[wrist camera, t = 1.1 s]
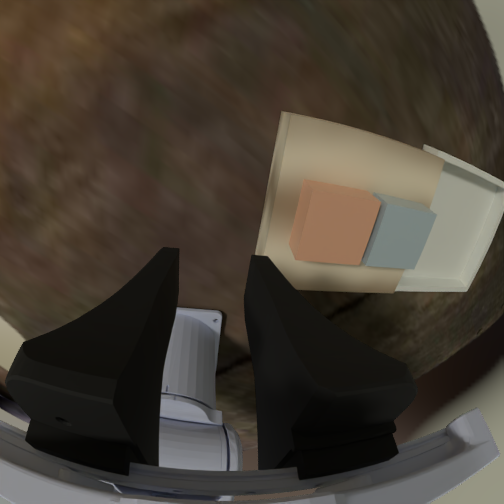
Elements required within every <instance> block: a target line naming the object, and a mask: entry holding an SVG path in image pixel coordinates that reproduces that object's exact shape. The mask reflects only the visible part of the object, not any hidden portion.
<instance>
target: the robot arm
mask: <svg viewBox="0 0 504 504" xmlns="http://www.w3.org/2000/svg"><path fill="white" fill-rule="evenodd" d="M178 294H179V248H168V247H163V248H162V249H160V250H159V252H158V253H157V254H156V255H155V256H154V257H153V258H152V259H151V260H150V261H149V262H148V263H147V264H146V265H145V266H144V267H143V268H142V269H141V270H140V271H139V272H138V273H137V274H136V275H135V276H134V277H133V278H132V279H131V280H130V281H129V282H128V283H127V284H126V285H124V286H123V287H122V288H121V289H120V290H119V291H117V292H116V293H115V294H114V295H113V296H111V297H110V298H109V299H107V300H106V301H104V302H103V303H102V304H100V305H99V306H97V307H95V308H94V309H92V310H91V311H89V312H87V313H86V314H84V315H82V316H81V317H79V318H77V319H76V320H74V321H72V322H70V323H68V324H66V325H64V326H62V327H60V328H58V329H56V330H53V331H51V332H49V333H46V334H44V335H41V336H38V337H36V338H33V339H31V340H28V341H25V342H23V344H22V346H21V347H20V349H19V351H18V353H17V355H16V357H15V359H14V361H13V363H12V365H11V368H10V370H9V372H8V374H7V377H6V380H5V383H6V386H7V389H8V392H9V393H10V394H11V396H12V397H13V399H14V400H15V401H16V402H17V403H18V405H19V406H20V407H21V408H22V409H23V410H24V412H25V413H26V414H27V415H28V416H29V417H30V418H31V421H30V424H29V427H28V431H27V432H25V431H23V430H20V429H18V428H16V427H14V426H11V425H9V424H7V423H5V422H3V421H0V496H1V497H2V498H4V499H5V500H7V501H9V502H11V503H12V504H429V503H431V502H433V501H435V500H436V499H438V498H440V497H441V496H443V495H445V494H446V493H448V492H449V491H451V490H453V489H454V488H455V487H457V486H459V485H460V484H462V483H463V482H464V481H466V480H467V479H469V478H470V477H472V476H473V475H475V474H476V473H477V472H479V471H480V470H482V469H483V468H484V467H486V466H487V465H488V464H490V463H491V462H492V461H494V460H495V459H496V458H497V457H499V456H500V453H499V450H498V448H497V446H496V443H495V441H494V439H493V437H492V435H491V432H490V430H489V428H488V426H487V424H486V422H485V420H484V418H483V416H482V414H481V412H480V410H479V408H475V409H473V410H471V411H468V412H466V413H464V414H462V415H460V416H459V417H457V418H456V419H454V420H453V421H452V422H451V423H449V424H448V425H447V426H446V428H444V429H441V430H439V431H437V432H434V433H432V434H429V435H427V436H424V437H421V438H418V439H415V440H412V441H410V442H407V443H404V444H400V445H398V446H397V445H396V443H395V440H394V437H393V434H392V433H394V432H395V431H396V426H395V424H394V420H395V419H396V418H397V417H398V416H399V415H400V414H401V413H402V412H403V411H404V410H405V409H406V408H407V407H408V406H409V405H410V404H411V403H412V401H413V400H414V398H415V396H416V394H417V385H416V383H415V381H414V379H413V377H412V375H411V373H410V371H409V369H408V367H407V365H406V364H405V363H403V362H400V361H398V360H396V359H394V358H391V357H389V356H387V355H385V354H383V353H380V352H378V351H376V350H375V349H373V348H371V347H369V346H367V345H366V344H364V343H362V342H360V341H359V340H357V339H355V338H354V337H352V336H351V335H349V334H348V333H346V332H345V331H343V330H342V329H340V328H339V327H337V326H336V325H335V324H333V323H332V322H331V321H330V320H328V319H327V318H326V317H325V316H323V315H322V314H321V313H320V312H319V311H317V310H316V309H315V308H314V307H313V306H312V305H311V304H310V303H309V302H308V301H307V300H306V299H305V298H304V297H303V296H302V295H301V294H300V293H299V292H298V291H297V290H296V289H295V288H294V287H293V286H292V285H291V283H290V282H289V281H288V280H287V279H286V278H285V277H284V275H283V274H282V273H281V272H280V270H279V269H278V268H277V267H276V266H275V264H274V263H273V262H272V261H271V259H270V258H269V257H268V256H261V255H251V261H250V267H249V272H248V278H247V283H246V289H245V294H244V311H245V323H246V329H247V335H248V341H249V347H250V352H251V358H252V363H253V370H254V377H255V392H256V410H257V432H258V470H253V471H242V463H243V456H242V445H241V441H240V437H239V435H238V433H237V432H236V431H235V430H234V428H233V427H232V425H230V424H228V423H222V411H218V410H216V390H215V372H216V366H217V357H218V348H219V340H220V331H221V323H222V313H221V312H220V311H217V310H203V309H191V308H179V307H177V302H178ZM214 319H218V320H214ZM317 487H320V488H317ZM311 488H317V489H316V491H315V492H314V493H312V494H306V495H300V496H292V497H284V498H275V499H263V500H247V501H234V496H238V495H260V494H273V493H282V492H291V491H298V490H305V489H311Z"/></svg>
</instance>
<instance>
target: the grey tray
mask: <svg viewBox="0 0 504 504" xmlns="http://www.w3.org/2000/svg"><path fill="white" fill-rule="evenodd" d="M423 150H424V151H426V152H429V153H431V154H433V155H436V156H438V157H440V158H442V159H444V160H445V162H444V165H443V169H442V172H441V175H440V179H439V182H438V185H437V188H436V191H435V194H434V197H433V200H432V203H431V206H430V210H431V211H433V212H434V213H435V214H437V216H436V219H435V221H434V224H433V227H432V229H431V232H430V234H429V237H428V239H427V241H426V244H425V246H424V249H423V251H422V253H421V255H420V258H419V260H418V262H417V264H416V267H415V269H414V270H413V269H405V270H404V272H403V275H402V277H401V279H400V281H399V283H398V285H397V287H396V289H395V291H426V292H467V290H468V288H469V286H470V285H471V283H472V281H473V279H474V277H475V275H476V273H477V271H478V269H479V267H480V265H481V263H482V261H483V259H484V257H485V255H486V253H487V251H488V248H489V246H490V244H491V242H492V239H493V237H494V235H495V232H496V230H497V227H498V225H499V222H500V220H501V217H502V215H503V212H504V182H503V181H501V180H499V179H497V178H495V177H494V176H492V175H490V174H488V173H486V172H484V171H482V170H480V169H478V168H476V167H474V166H472V165H470V164H468V163H466V162H464V161H462V160H460V159H458V158H455V157H453V156H451V155H449V154H446V153H444V152H442V151H439V150H437V149H435V148H432V147H430V146H427V145H425V144H424V146H423Z"/></svg>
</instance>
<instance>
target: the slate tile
mask: <svg viewBox="0 0 504 504" xmlns="http://www.w3.org/2000/svg"><path fill="white" fill-rule="evenodd" d="M373 196H374V197H376V198H377V199H378V200H379V201H381V205H380V208H379V211H378V214H377V217H376V220H375V223H374V226H373V229H372V232H371V235H370V238H369V241H368V243H367V246H366V249H365V251H364V254H363V257H362V259H361V260H362V262H363V263H364V264H365V266H374V267H387V268H400V269H413V270H414V269H415V267H416V264H417V262H418V260H419V258H420V255H421V253H422V251H423V249H424V246H425V244H426V241H427V239H428V237H429V234H430V232H431V229H432V227H433V224H434V221H435V219H436V216H437V214H435V213H434V212H433V211H431V210H430V209H429V208H427V207H426V206H425V205H423V204H422V203H418V202H414V201H410V200H406V199H402V198H398V197H393V196H389V195H385V194H380V193H375V192H373Z"/></svg>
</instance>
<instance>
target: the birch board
mask: <svg viewBox="0 0 504 504" xmlns="http://www.w3.org/2000/svg"><path fill="white" fill-rule="evenodd" d="M444 162H445V160H444V159H442V158H440V157H438V156H436V155H433V154H431V153H429V152H426V151H424V150H422V149H419V148H416V147H414V146H411V145H408V144H405V143H402V142H400V141H397V140H394V139H391V138H388V137H385V136H381V135H378V134H375V133H372V132H368V131H365V130H361V129H358V128H354V127H351V126H347V125H343V124H339V123H335V122H331V121H327V120H323V119H319V118H314V117H309V116H305V115H300V114H295V113H290V112H284V111H281V116H280V121H279V127H278V132H277V138H276V143H275V149H274V154H273V160H272V165H271V171H270V176H269V182H268V187H267V193H266V198H265V204H264V209H263V215H262V220H261V225H260V231H259V236H258V242H257V247H256V252H255V255H261V256H268V257H269V258H270V259H271V261H272V262H273V263H274V264H275V266H276V267H277V268H278V269H279V270H280V272H281V273H282V274H283V275H284V277H285V278H286V279H287V280H288V281H289V282H290V283H291V285H292V286H293V287H294V288H295V289H296V290H314V291H337V292H366V293H394V291H395V289H396V287H397V285H398V283H399V281H400V279H401V277H402V275H403V272H404V270H405V269H400V268H387V267H374V266H365V264H364V263H363V262H362V260H361V262H360V265H349V264H336V263H324V262H311V261H299V260H295V259H294V256H293V253H292V251H291V248H290V246H289V240H290V236H291V232H292V228H293V224H294V219H295V215H296V211H297V207H298V202H299V198H300V193H301V189H302V185H303V180H304V179H306V180H312V181H318V182H324V183H330V184H335V185H341V186H346V187H351V188H356V189H361V190H366V191H368V192H370V193H371V194H372V195H373V192H375V193H380V194H385V195H389V196H393V197H398V198H402V199H406V200H410V201H414V202H418V203H422V204H423V205H425V206H426V207H427V208H429V209H430V206H431V203H432V200H433V197H434V194H435V191H436V188H437V185H438V182H439V179H440V175H441V172H442V169H443V165H444Z"/></svg>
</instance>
